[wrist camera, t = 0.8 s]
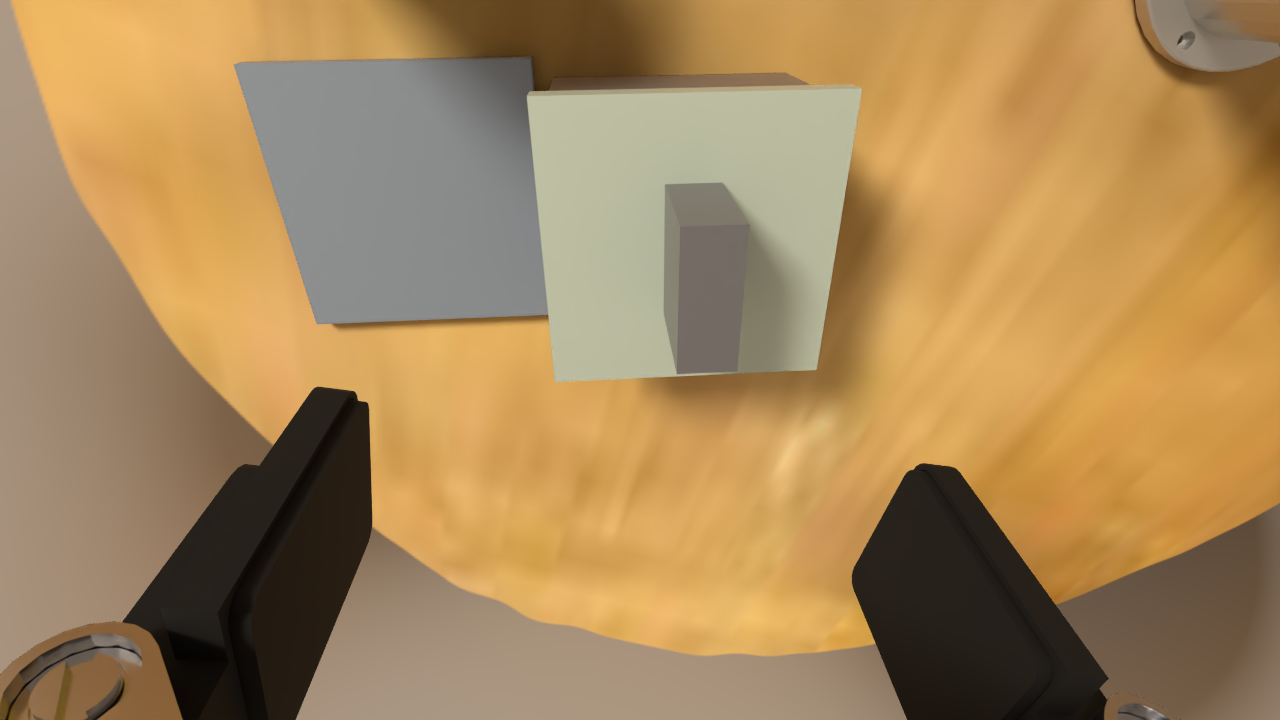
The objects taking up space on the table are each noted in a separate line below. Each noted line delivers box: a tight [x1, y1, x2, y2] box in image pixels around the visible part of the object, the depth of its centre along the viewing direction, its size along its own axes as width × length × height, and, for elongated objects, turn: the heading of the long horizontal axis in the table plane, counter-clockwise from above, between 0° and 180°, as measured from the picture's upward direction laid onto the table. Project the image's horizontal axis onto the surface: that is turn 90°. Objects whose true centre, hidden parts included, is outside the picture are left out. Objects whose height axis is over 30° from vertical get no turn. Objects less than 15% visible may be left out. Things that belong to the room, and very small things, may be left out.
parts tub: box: [549, 73, 810, 91], centre depth 32 cm, size 12×12×8 cm
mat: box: [234, 56, 548, 324], centre depth 34 cm, size 14×14×1 cm
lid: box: [527, 84, 862, 382], centre depth 26 cm, size 13×13×7 cm
